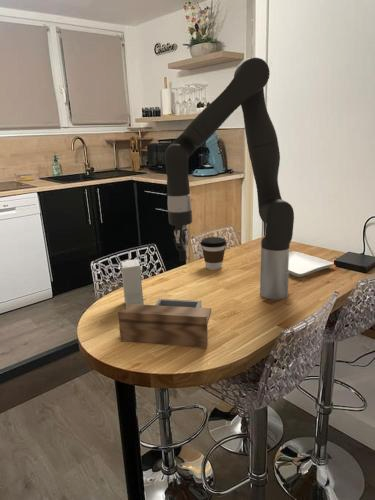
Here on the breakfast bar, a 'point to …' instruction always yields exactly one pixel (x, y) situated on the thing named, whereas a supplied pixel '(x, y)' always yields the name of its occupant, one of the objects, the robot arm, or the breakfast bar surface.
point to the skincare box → (132, 282)
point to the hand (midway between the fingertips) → (183, 260)
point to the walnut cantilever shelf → (164, 325)
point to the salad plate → (305, 264)
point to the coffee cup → (213, 252)
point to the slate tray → (178, 303)
